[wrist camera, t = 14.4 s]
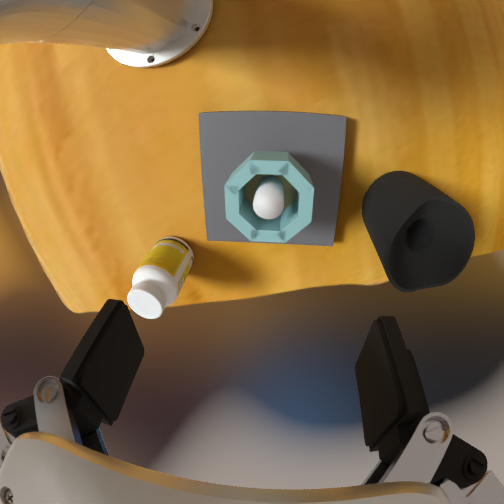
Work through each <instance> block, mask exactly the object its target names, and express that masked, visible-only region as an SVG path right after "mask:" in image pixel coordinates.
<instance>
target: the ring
mask: <svg viewBox="0 0 504 504" xmlns="http://www.w3.org/2000/svg"><path fill="white" fill-rule="evenodd" d="M256 174H271V175H283V176H284V177H285V178H286V179H287V180H288V181H289V182H290V183H291V184H292V185H293V186H294V187H295V189H296V190H297V194H296V200H294V201H293V202H292V203H291V204H290V205H289V206H287V207H286V208H285V209H284V210H283V211H282V213H281V214H280V215H279V216H278V217H276V218H274V219H263V218H261V217H259V216H258V215H257V214H256V213H255V211H254V209H253V204H252V203H251V202H250V201H249V200H247V199H246V198H245V184H246V183H247V182H248V181H249V180H250V179H251V178H253V177H254V176H255V175H256ZM224 189H225V209H226V219H227V220H228V221H229V222H230V223H231V224H232V225H234V226H235V227H236V228H237V229H238V230H239V231H240V232H241V233H242V234H243V235H245V236H246V237H247V238H248V239H249V240H250V241H254V242H278V243H286V242H287V241H288V240H289V239H291V238H292V237H293V236H294V235H296V234H297V233H298V232H299V231H301V230H302V229H303V228H304V227H306V226H307V225H308V224H309V223H311V220H312V208H313V196H314V186H313V183H312V180H311V178H310V175H309V174H308V173H307V171H306V170H305V169H304V168H303V167H302V166H301V165H300V164H299V163H298V162H297V161H296V160H295V159H294V158H293V157H292V156H291V155H290V154H289V153H288V152H283V151H254V152H253V153H252V154H251V155H250V156H249V157H248V158H247V159H246V160H245V161H244V162H243V163H242V164H241V165H240V166H239V167H238V168H237V169H236V170H234V171H233V173H232V174H231V176H230V177H229V179H228V180H227V182H226V183H225V185H224Z"/></svg>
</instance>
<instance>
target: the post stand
mask: <svg viewBox="0 0 504 504" xmlns="http://www.w3.org/2000/svg"><path fill="white" fill-rule="evenodd" d="M199 130H200V150H201V166H202V181H203V195H204V207H205V219H206V230H207V240H208V241H233V242H254V241H250V240H249V239H248V238H247V237H246V236H245V235H243V234H242V233H241V232H240V231H239V230H238V229H237V228H236V227H235V226H234V225H232V224H231V223H230V222H229V221H228V220H227V219H226V209H225V189H224V185H225V183H226V182H227V180H228V179H229V177H230V176H231V174H232V173H233V171H234V170H236V169H237V168H238V167H239V166H240V165H241V164H242V163H243V162H244V161H245V160H246V159H247V158H248V157H249V156H250V155H251V154H252V153H253V152H254V151H283V152H288V153H289V154H290V155H291V156H292V157H293V158H294V159H295V160H296V161H297V162H298V163H299V164H300V165H301V166H302V167H303V168H304V169H305V170H306V171H307V173H308V174H309V175H310V178H311V180H312V183H313V186H314V196H313V208H312V220H311V223H309V224H308V225H307V226H306V227H304V228H303V229H302V230H301V231H299V232H298V233H297V234H296V235H294V236H293V237H292V238H291V239H289V240H288V241H287V242H286V243H279V244H300V245H321V246H333V243H334V236H335V230H336V222H337V215H338V207H339V199H340V190H341V181H342V171H343V160H344V148H345V134H346V117H345V116H340V115H330V114H319V113H306V112H288V111H220V112H203V113H199ZM296 194H297V190H296V189H295V187H294V186H293V185H292V184H291V183H290V182H289V181H288V180H287V179H286V178H285V177H284V176H283V175H271V174H256V175H255V176H254V177H253V178H251V179H250V180H249V181H248V182H247V183H246V184H245V198H246V199H247V200H249V201H250V202H251V203H252V204H253V209H254V211H255V213H256V214H257V215H258V216H259V217H261V218H263V219H274V218H276V217H278V216H279V215H280V214H281V213H282V211H283V210H284V209H285V208H286V207H287V206H289V205H290V204H291V203H292V202H293V201H294V200H296ZM257 243H278V242H257Z"/></svg>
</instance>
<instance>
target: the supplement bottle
mask: <svg viewBox="0 0 504 504" xmlns="http://www.w3.org/2000/svg"><path fill="white" fill-rule="evenodd" d="M193 261H194V255H193V252H192V250H191V248H190V246H189V245H188V244H187V243H186V242H185V241H183V240H182V239H180V238H177V237H171V236H170V237H164V238H162V239H160V240H159V241H158V242H157V243H156V244H155V245H154V247H153V248H152V249H151V251H150V252H149V254H148V255H147V256H146V258H145V259H144V260H143V262H142V263H141V264H140V266H139V267H138V269H137V270H136V272H135V274H134V276H133V280H132V284H133V287H132V289H131V290H130V292H129V294H128V297H127V300H128V303H129V305H130V307H131V308H132V310H133V311H135V312H136V313H137V314H138V315H140V316H142V317H144V318H148V319H154V318H158V317H159V316H160V315H161V314H162V312H163V310H164V308H165V307H166V306H169V305H171V304H172V303H173V302H174V301H175V300H176V298H177V296H178V294H179V292H180V290H181V288H182V286H183V284H184V281H185V279H186V277H187V275H188V273H189V271H190V269H191V267H192V265H193Z"/></svg>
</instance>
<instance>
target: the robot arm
mask: <svg viewBox="0 0 504 504" xmlns="http://www.w3.org/2000/svg"><path fill="white" fill-rule="evenodd" d="M213 6H214V5H213V0H0V44H9V43H56V44H71V45H82V46H92V47H99V48H106V49H107V51H108V53H109V54H110V55H111V56H112V57H113V58H114V59H115V60H116V61H118V62H120V63H121V64H124V65H127V66H130V67H137V68H150V67H157V66H160V65H163V64H166V63H169V62H171V61H173V60H175V59H177V58H179V57H180V56H182V55H183V54H185V53H186V52H188V51H189V50H190V49H191V48H192V47H193V46H194V45H195V44H196V43H197V42H198V41H199V40H200V38H201V37H202V36H203V35H204V33H205V31H206V29H207V28H208V26H209V24H210V21H211V18H212V14H213ZM197 28H200V29H199V30H198V31H196V29H197ZM154 58H155V60H154V62H153V59H154ZM143 356H144V347H143V345H142V343H141V340H140V338H139V335H138V332H137V330H136V327H135V325H134V323H133V320H132V317H131V315H130V312H129V309H128V307H127V305H125V304H124V302H123V301H121V300H114V299H108V300H107V301H106V303H105V304H104V306H103V307H102V309H101V310H100V312H99V313H98V315H97V316H96V318H95V319H94V321H93V322H92V324H91V326H90V327H89V329H88V330H87V332H86V334H85V335H84V337H83V338H82V340H81V341H80V343H79V345H78V346H77V348H76V350H75V351H74V353H73V355H72V356H71V358H70V360H69V361H68V363H67V365H66V367H65V368H64V370H63V372H62V374H61V376H60V377H61V378H60V380H59V379H57V378H55V377H45V378H43V379H41V380H40V381H39V382H38V383H37V385H36V386H35V389H34V395H33V396H30V397H27V398H25V399H23V400H20V401H18V402H15V403H13V404H10V405H8V406H7V407H6V408H5V409H4V410H3V412H2V415H1V421H0V504H504V486H503V485H502V484H501V482H500V481H499V480H498V479H497V477H496V476H495V475H494V473H493V472H492V471H491V470H490V471H487V459H486V456H485V455H484V454H483V453H482V452H481V451H479V450H478V449H476V448H475V447H473V446H471V445H470V444H468V443H466V442H465V441H463V440H462V439H460V438H458V437H457V436H455V435H453V426H452V423H451V421H450V420H449V418H448V417H447V416H445V415H444V414H442V413H439V412H433V413H430V412H429V408H428V404H427V401H426V397H425V393H424V390H423V386H422V383H421V380H420V377H419V373H418V370H417V367H416V364H415V361H414V358H413V355H412V353H411V351H410V350H409V349H406V346H405V343H404V340H403V338H402V335H401V332H400V329H399V327H398V324H397V321H396V319H395V317H394V316H380V317H378V319H377V320H374V321H373V323H372V326H371V328H370V331H369V334H368V336H367V338H366V341H365V343H364V346H363V348H362V351H361V353H360V355H359V358H358V360H357V362H356V366H355V373H356V379H357V385H358V392H359V399H360V405H361V414H362V421H363V430H364V439H365V444H366V446H369V448H370V452H371V451H379V459H380V460H379V462H378V463H377V464H376V466H375V467H374V469H373V470H372V471H371V473H370V474H369V475H368V477H367V478H366V479H365V481H364V482H363V483H362V484H361V485H360V486H352V487H341V488H326V489H304V490H281V489H257V488H246V487H236V486H227V485H220V484H212V483H207V482H201V481H196V480H191V479H186V478H180V477H176V476H172V475H168V474H164V473H160V472H157V471H153V470H149V469H146V468H143V467H139V466H136V465H133V464H130V463H127V462H124V461H121V460H118V459H116V458H113V457H110V456H109V454H108V451H107V448H106V446H105V443H104V440H103V438H102V435H101V432H100V430H99V426H100V423H101V422H102V423H105V424H108V425H111V426H112V424H113V421H116V420H117V419H118V416H119V414H120V411H121V409H122V406H123V404H124V401H125V399H126V396H127V394H128V391H129V389H130V387H131V384H132V382H133V379H134V377H135V374H136V372H137V370H138V367H139V365H140V363H141V361H142V358H143Z"/></svg>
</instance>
